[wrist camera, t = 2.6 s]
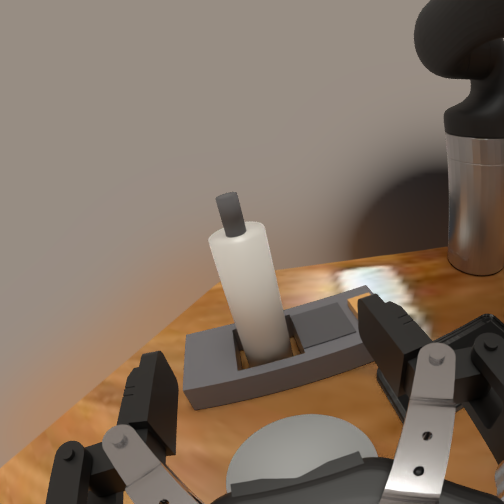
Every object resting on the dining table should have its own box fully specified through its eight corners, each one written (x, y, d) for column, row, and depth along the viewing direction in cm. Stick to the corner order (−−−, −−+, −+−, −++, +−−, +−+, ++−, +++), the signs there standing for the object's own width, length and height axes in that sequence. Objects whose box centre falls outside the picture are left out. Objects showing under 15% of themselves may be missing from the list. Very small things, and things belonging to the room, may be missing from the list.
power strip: (366, 306, 33) (365, 279, 32) (399, 350, 26) (402, 320, 24) (195, 354, 33) (183, 329, 31) (194, 410, 26) (179, 384, 24)
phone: (534, 351, 18) (412, 431, 17) (530, 359, 18) (409, 438, 18) (488, 310, 25) (372, 366, 25) (486, 318, 26) (371, 374, 25)
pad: (350, 401, 23) (350, 397, 22) (400, 509, 13) (401, 507, 12) (223, 435, 22) (221, 432, 22) (236, 553, 12) (234, 552, 12)
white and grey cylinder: (288, 342, 31) (251, 182, 24) (298, 371, 27) (260, 194, 20) (247, 353, 31) (198, 197, 24) (253, 383, 27) (196, 211, 20)
